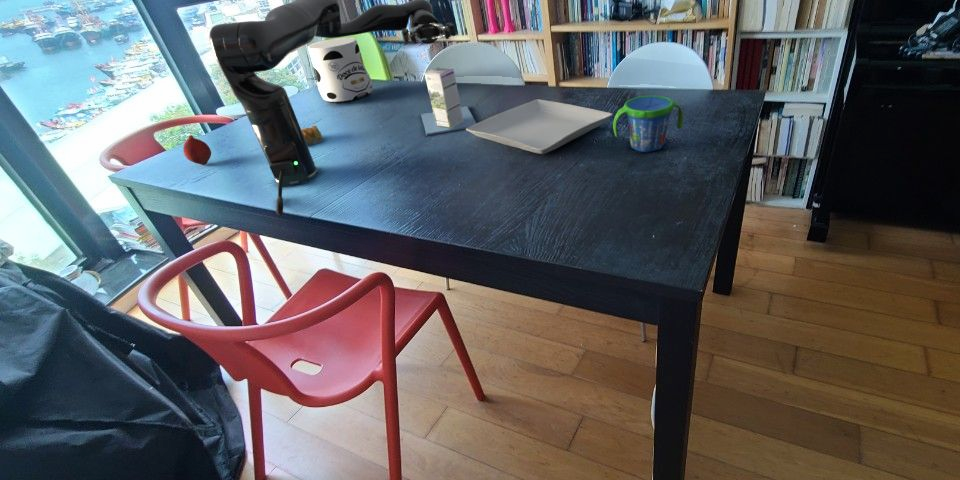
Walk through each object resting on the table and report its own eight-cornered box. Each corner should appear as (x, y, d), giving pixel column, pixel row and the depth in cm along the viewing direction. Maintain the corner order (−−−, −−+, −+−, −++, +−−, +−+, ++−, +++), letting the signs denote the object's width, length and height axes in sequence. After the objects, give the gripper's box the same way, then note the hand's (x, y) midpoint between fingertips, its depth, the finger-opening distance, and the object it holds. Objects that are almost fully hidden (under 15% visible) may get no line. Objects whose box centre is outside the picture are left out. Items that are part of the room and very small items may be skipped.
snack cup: (615, 158, 107) (616, 113, 101) (610, 140, 116) (610, 98, 109) (686, 153, 106) (691, 107, 100) (675, 135, 115) (679, 92, 109)
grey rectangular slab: (477, 126, 132) (477, 124, 131) (426, 135, 129) (426, 133, 129) (467, 107, 146) (467, 105, 145) (421, 116, 143) (420, 114, 143)
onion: (199, 171, 123) (182, 141, 118) (187, 167, 126) (171, 138, 121) (221, 162, 127) (205, 132, 122) (209, 158, 129) (194, 130, 125)
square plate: (614, 126, 123) (615, 111, 120) (543, 165, 108) (541, 148, 105) (538, 109, 139) (536, 96, 136) (466, 141, 123) (463, 126, 121)
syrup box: (464, 121, 134) (454, 67, 125) (450, 129, 130) (439, 73, 121) (449, 119, 137) (438, 66, 128) (435, 126, 133) (423, 72, 124)
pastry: (291, 151, 129) (286, 137, 126) (284, 145, 133) (279, 132, 131) (326, 140, 133) (321, 127, 131) (318, 135, 137) (313, 122, 135)
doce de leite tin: (366, 105, 157) (349, 46, 147) (315, 109, 158) (294, 51, 148) (381, 89, 171) (366, 35, 160) (334, 93, 172) (316, 39, 161)
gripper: (397, 15, 135) (400, 25, 122) (447, 9, 138) (455, 17, 125) (404, 44, 140) (407, 56, 127) (452, 37, 142) (460, 48, 129)
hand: (431, 37), depth 126 cm, fingers open, 8 cm apart
